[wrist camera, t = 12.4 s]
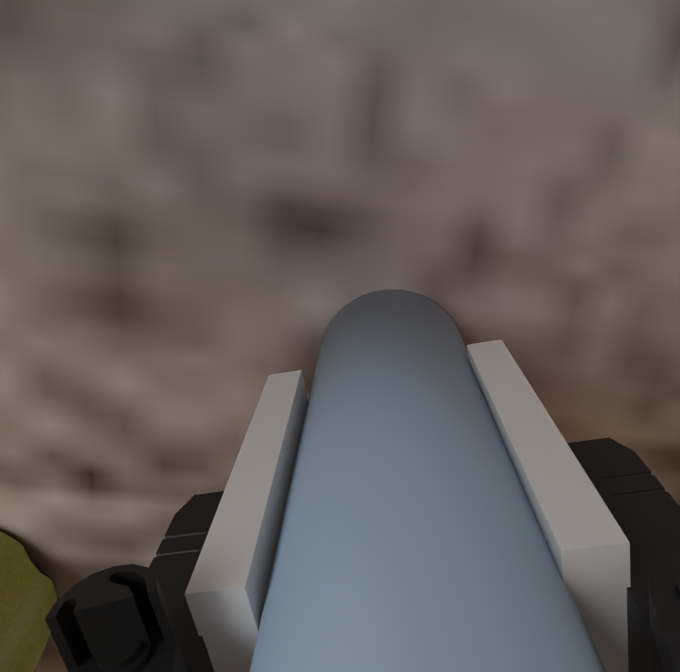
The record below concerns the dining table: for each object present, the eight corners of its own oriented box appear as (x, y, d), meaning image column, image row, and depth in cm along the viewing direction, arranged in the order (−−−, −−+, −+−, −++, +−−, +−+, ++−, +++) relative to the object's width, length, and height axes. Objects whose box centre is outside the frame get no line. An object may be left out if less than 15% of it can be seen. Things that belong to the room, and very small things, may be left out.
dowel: (306, 302, 16) (149, 759, 4) (455, 278, 15) (699, 716, 4) (333, 431, 17) (264, 1036, 6) (470, 412, 17) (686, 1025, 5)
